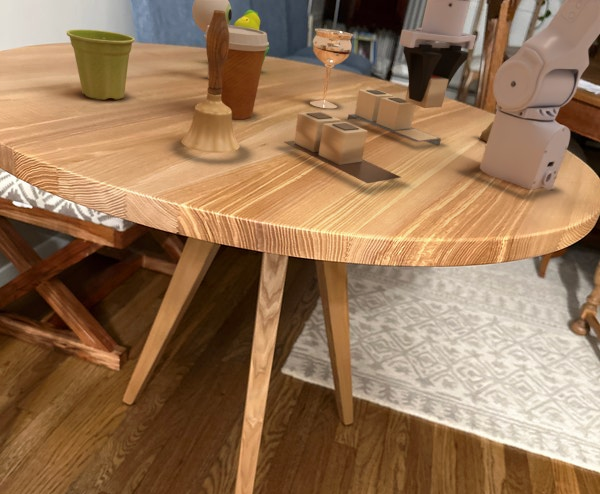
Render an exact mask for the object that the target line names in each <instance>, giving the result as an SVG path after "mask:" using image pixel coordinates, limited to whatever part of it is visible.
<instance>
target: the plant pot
mask: <svg viewBox="0 0 600 494" xmlns="http://www.w3.org/2000/svg"><path fill="white" fill-rule="evenodd" d="M66 35H67V36H68V37H69V40H70V44H71V47H72V49H73V51H74V52H73V53H74V57H75V61H76V62H75V63H76V68H77V72H78V77H79V81H80V87H81V92H82V94H83V95H85V97H87V98H90V99H97V100H101V101H103V100H108V99H113V100H116V101H117V100H121V99H123V98H125V95H126V85H127V84H126V83H127V74H128V67H129V59H130V53H131V51H132V45H133V43H134V42H135V39H136V38H135V37H133V36H130V35H128V34H123V33H119V32H114V31H109V30H108V31H107V30H97V29H68V30H66Z"/></svg>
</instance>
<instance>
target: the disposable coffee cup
mask: <svg viewBox="0 0 600 494" xmlns="http://www.w3.org/2000/svg"><path fill="white" fill-rule="evenodd" d="M208 28H209V25H208V26H207V30H206V32H205V33H204V34H203V37H204V39H205V41H204V42H205V43H206V40H207V32H208ZM228 30H229V49H228V55H227V59H226V62H225V64H224V68H223V73H222V88H221V89H222V93H221V101H222V103H223V104H225V105H226V106H227V107H229V108H230V109H231V111H232V120H243V119H244V120H245V119H250V118H251V117H252V116H253V113H254V108H255V103H256V98H257V94H258V88H259V83H260V79H261V74H262V69H263V65H262V64H264V62H263V60H264V61H265V59H264V55H265V50H267V47H269V45H270V42H269V41H268V33H267V32H265V31H263V30H260V29H259V30H256V29H252V28H246V27H240V26H234V25H231V24H229V25H228ZM208 68H209V62H208V61H207V69H208Z"/></svg>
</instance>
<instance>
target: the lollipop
mask: <svg viewBox="0 0 600 494" xmlns="http://www.w3.org/2000/svg"><path fill="white" fill-rule="evenodd" d="M191 9H192V10H191V13H192V18H193V21H194V23H195V25H196V26H197V27H198V28H199V30H201V31H202V32H204V33H206V30H207V26H208V25H210V23H211V20H212V17H213V13H214V10H220V11H225V13H226V21H227V25H231V24H230V23H231V22H232V18H233V10H232V6H231V3H230V2H229V0H194V1H193V4H192V8H191ZM207 80H209V68H208V67H207Z"/></svg>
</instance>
